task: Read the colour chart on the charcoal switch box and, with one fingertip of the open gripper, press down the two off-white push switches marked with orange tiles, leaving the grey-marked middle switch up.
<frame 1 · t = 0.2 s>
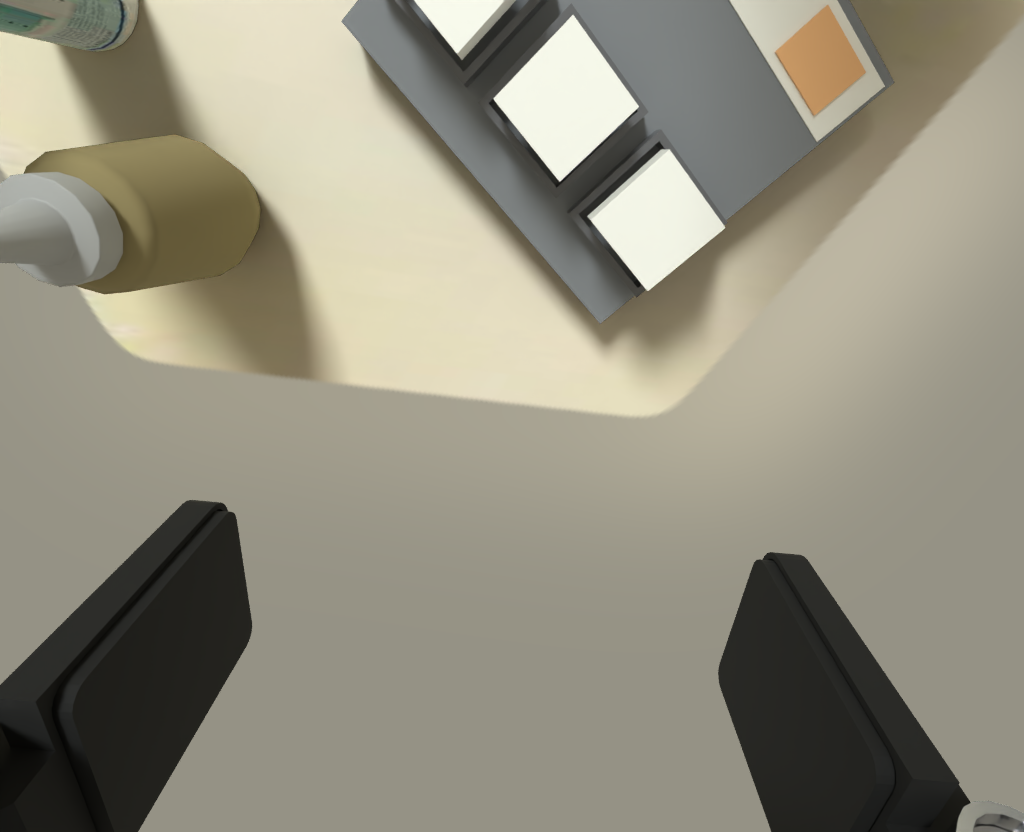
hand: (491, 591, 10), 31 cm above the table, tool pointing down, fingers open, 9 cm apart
switch 2: (564, 104, 28), point 6 cm above the table, slide at 0.0 cm
squeeze bottle: (219, 204, 37), on the table
switch box: (612, 60, 33), on the table
switch 3: (654, 221, 30), point 6 cm above the table, slide at 0.0 cm
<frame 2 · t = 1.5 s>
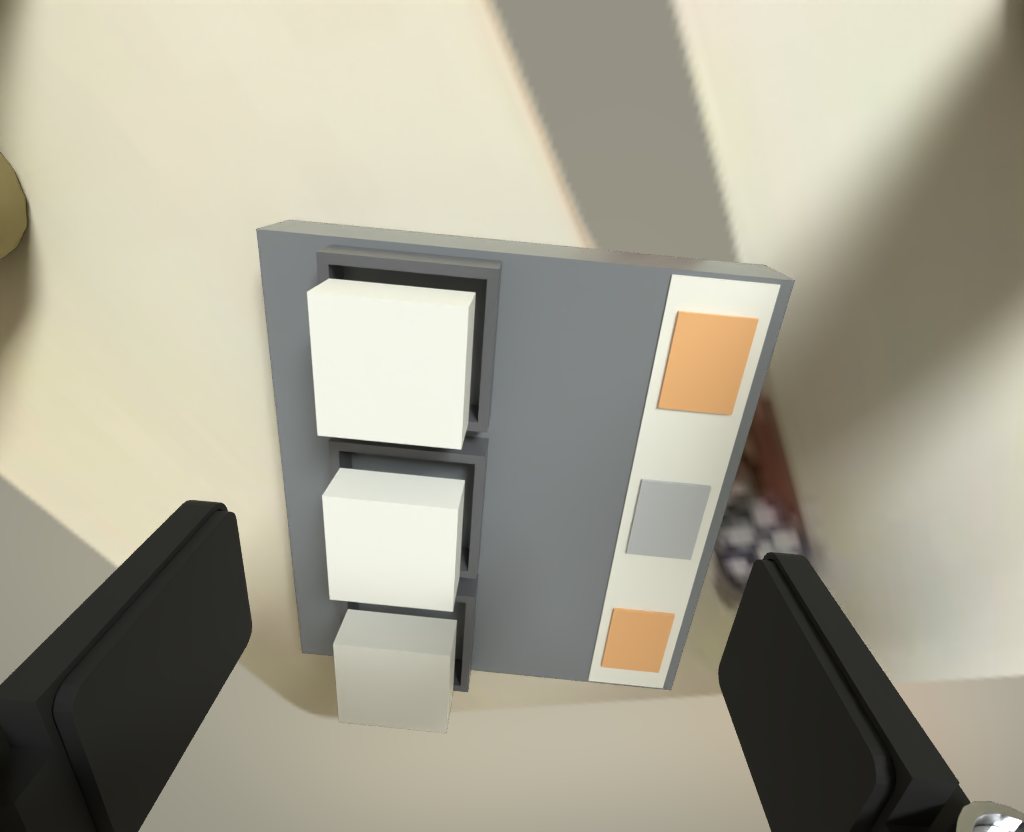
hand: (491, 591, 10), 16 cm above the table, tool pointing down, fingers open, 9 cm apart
switch 2: (396, 540, 22), point 6 cm above the table, slide at 0.0 cm
switch box: (505, 468, 28), on the table
switch 3: (397, 671, 26), point 6 cm above the table, slide at 0.0 cm
switch 1: (395, 364, 19), point 6 cm above the table, slide at 0.0 cm
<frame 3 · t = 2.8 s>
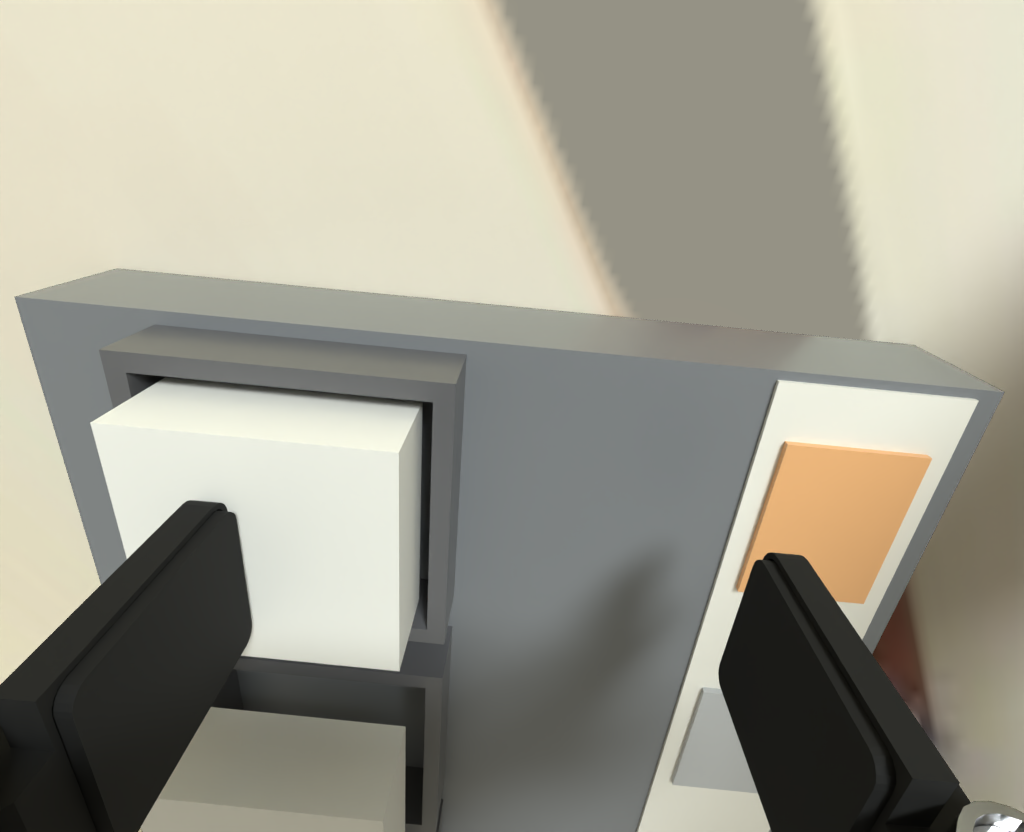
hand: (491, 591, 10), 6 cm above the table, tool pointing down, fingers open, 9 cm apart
switch 2: (288, 827, 13), point 6 cm above the table, slide at 0.0 cm
switch box: (485, 630, 19), on the table
switch 1: (284, 526, 11), point 5 cm above the table, slide at 1.4 cm, touching gripper
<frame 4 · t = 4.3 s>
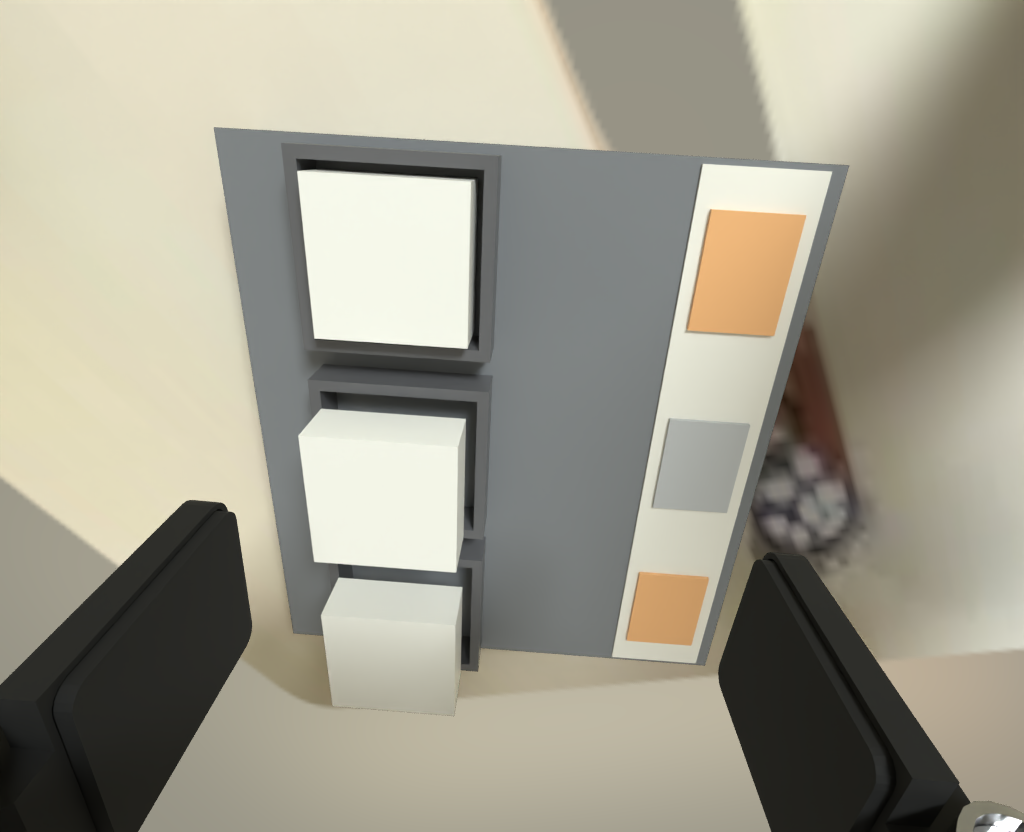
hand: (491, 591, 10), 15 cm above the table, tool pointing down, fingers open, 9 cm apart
switch 2: (389, 491, 19), point 6 cm above the table, slide at 0.0 cm
switch box: (513, 418, 25), on the table
switch 3: (396, 647, 23), point 6 cm above the table, slide at 0.0 cm
switch 1: (395, 259, 18), point 4 cm above the table, slide at 2.1 cm
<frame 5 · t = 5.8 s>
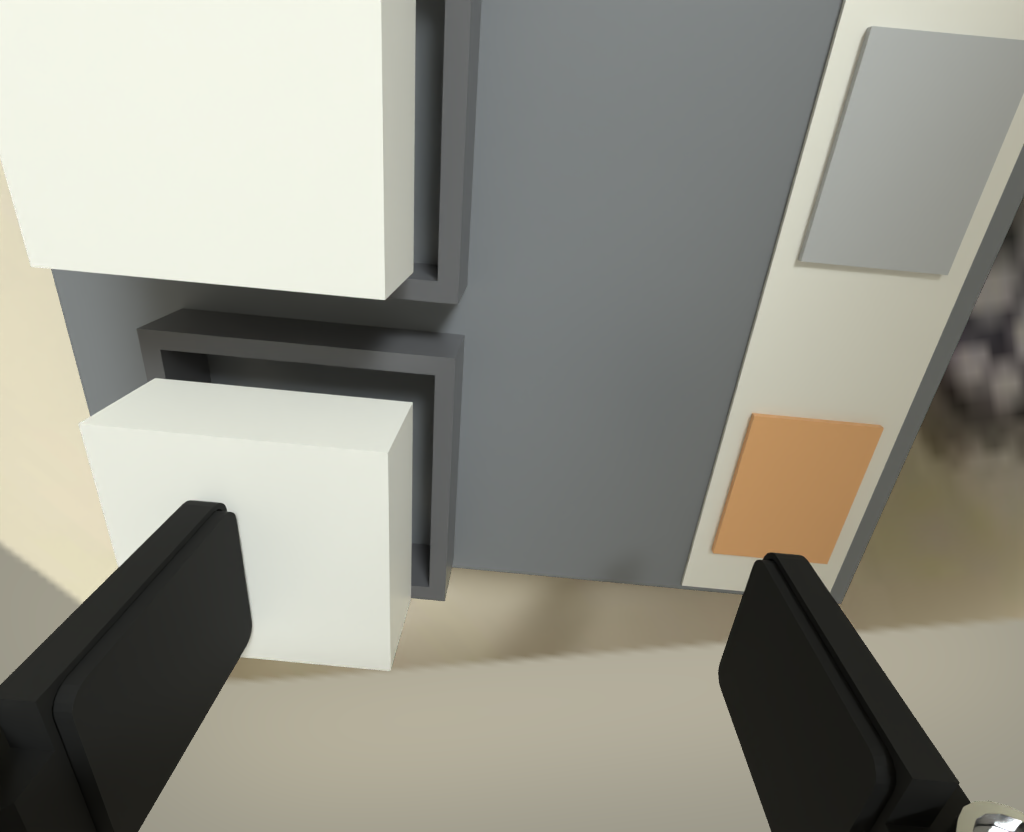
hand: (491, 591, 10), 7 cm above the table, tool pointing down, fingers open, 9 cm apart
switch 2: (219, 85, 8), point 6 cm above the table, slide at 0.0 cm
switch box: (520, 129, 13), on the table
switch 3: (274, 526, 11), point 6 cm above the table, slide at 0.1 cm, touching gripper
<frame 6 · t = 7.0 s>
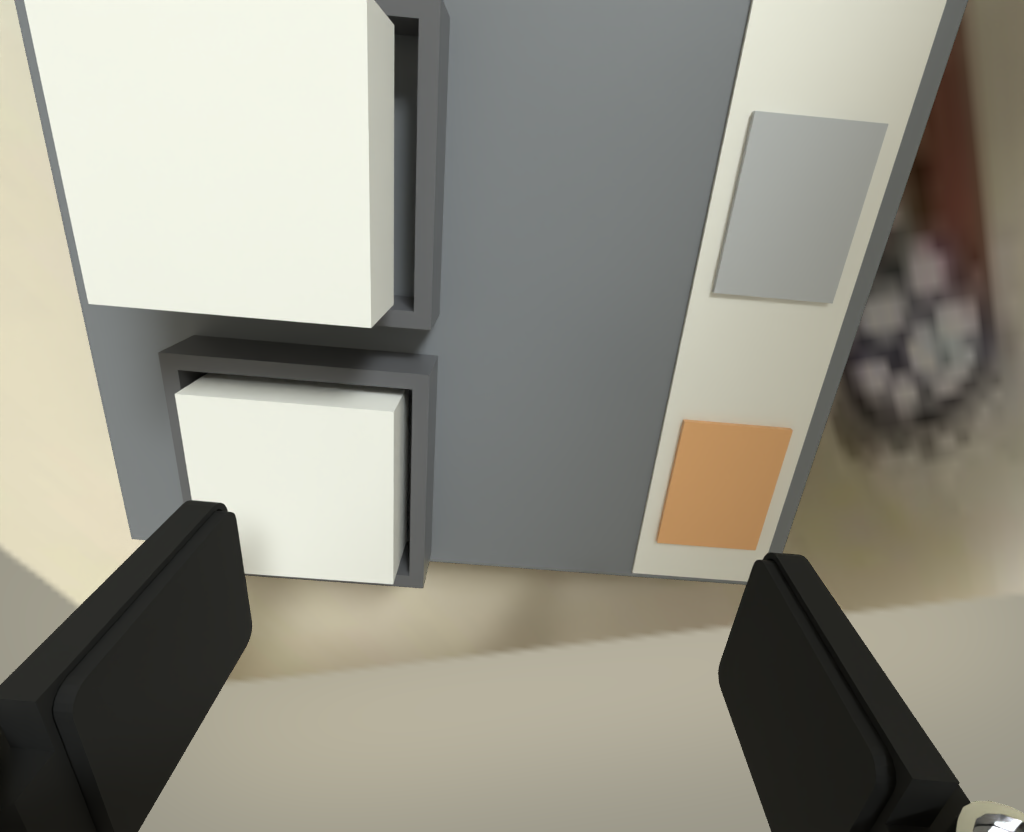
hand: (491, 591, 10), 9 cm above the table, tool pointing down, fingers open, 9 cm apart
switch 2: (241, 164, 10), point 6 cm above the table, slide at 0.0 cm
switch box: (484, 182, 16), on the table
switch 3: (306, 476, 15), point 4 cm above the table, slide at 2.1 cm
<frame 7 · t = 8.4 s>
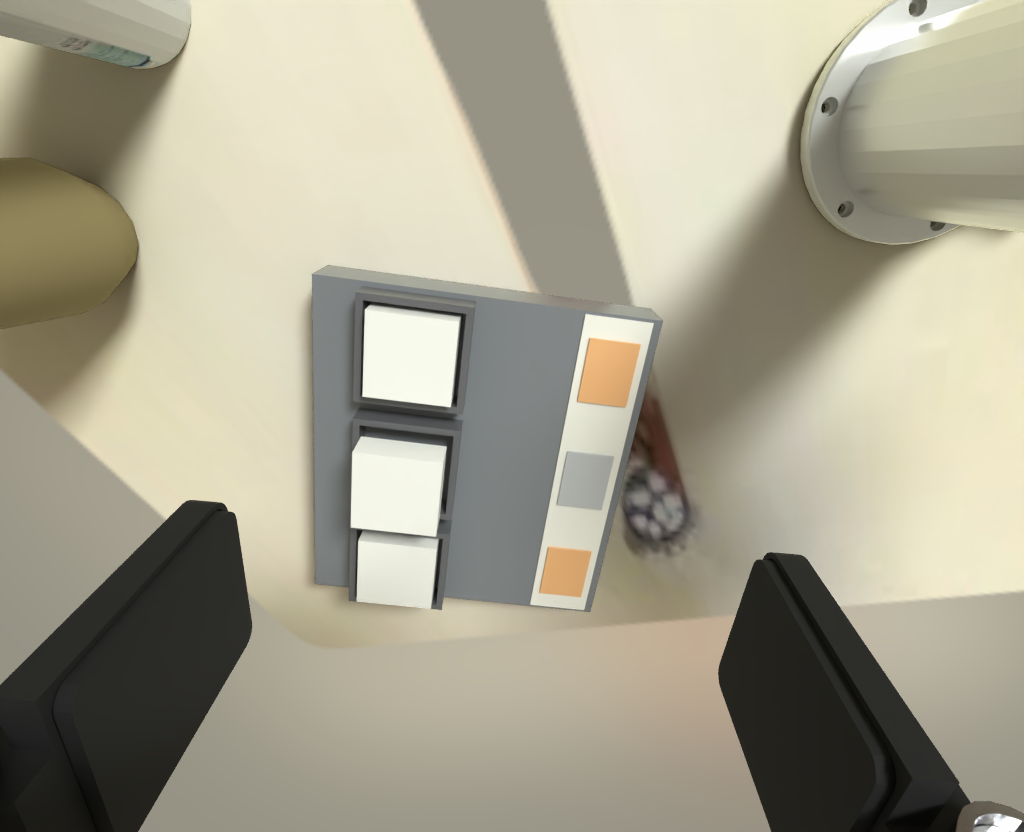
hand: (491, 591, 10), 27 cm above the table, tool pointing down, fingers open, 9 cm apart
switch 2: (398, 486, 33), point 6 cm above the table, slide at 0.0 cm
squeeze bottle: (91, 232, 33), on the table
switch box: (473, 445, 39), on the table
spray can: (132, 0, 29), on the table
switch 3: (398, 566, 38), point 4 cm above the table, slide at 2.1 cm
switch 1: (412, 354, 32), point 4 cm above the table, slide at 2.1 cm
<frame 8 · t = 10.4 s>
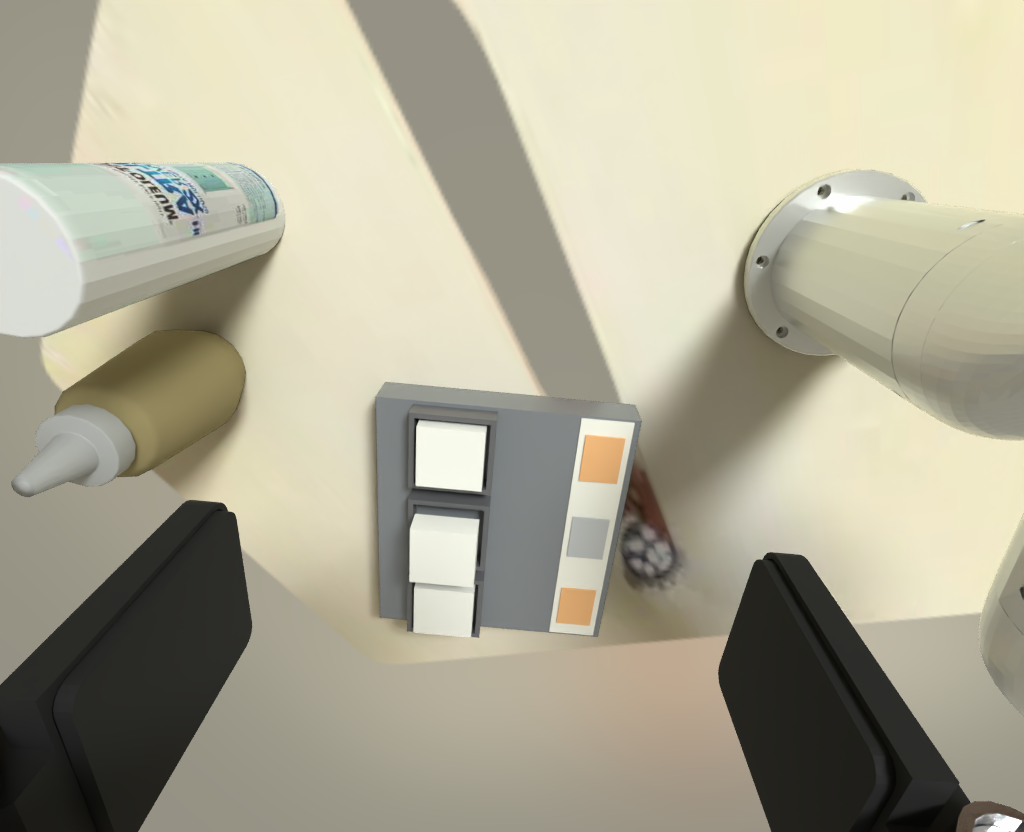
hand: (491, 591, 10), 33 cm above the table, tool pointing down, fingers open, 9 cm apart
switch 2: (444, 550, 43), point 6 cm above the table, slide at 0.0 cm
squeeze bottle: (211, 365, 45), on the table
switch box: (499, 508, 49), on the table
spray can: (243, 210, 40), on the table
switch 3: (444, 604, 48), point 4 cm above the table, slide at 2.1 cm
switch 1: (451, 453, 42), point 4 cm above the table, slide at 2.1 cm
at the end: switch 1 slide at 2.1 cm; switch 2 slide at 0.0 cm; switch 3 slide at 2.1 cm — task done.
